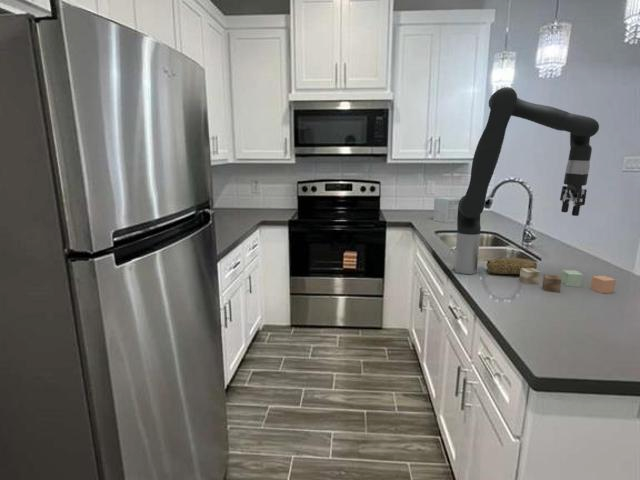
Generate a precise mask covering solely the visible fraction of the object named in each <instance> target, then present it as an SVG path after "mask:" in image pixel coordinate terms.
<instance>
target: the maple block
mask: <svg viewBox="0 0 640 480" xmlns="http://www.w3.org/2000/svg"><path fill="white" fill-rule="evenodd" d="M540 274H541V271H539V270H537V268H536V269H534V268H521V270H520V274H519V281H520V282H522V283H524V284H525V285H539V284H540V276H541V275H540Z"/></svg>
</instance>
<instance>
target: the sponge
mask: <svg viewBox="0 0 640 480" xmlns="http://www.w3.org/2000/svg"><path fill="white" fill-rule="evenodd" d="M486 262H487V263H486V268H487V272H488V273H489V274H496V275H520V270H521V268H534V269H536V270H537V268H538V263H537V262H536V261H533V260H530V259H526V258H519V257H511V256H510V257H506V258H501V257H499V258H496V259H494V258H493V259H489V260H487V261H486Z"/></svg>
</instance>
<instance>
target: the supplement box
mask: <svg viewBox="0 0 640 480" xmlns="http://www.w3.org/2000/svg"><path fill="white" fill-rule="evenodd" d="M433 199H434V201H433V202H434V203H433V218H432V220H433V222H439V223H443V224H449V223H455V222H456V223H457V216H458V204H459V201H460V199H461V198H459V197H454V196H453V197H451V196H438V197H434V198H433Z"/></svg>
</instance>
